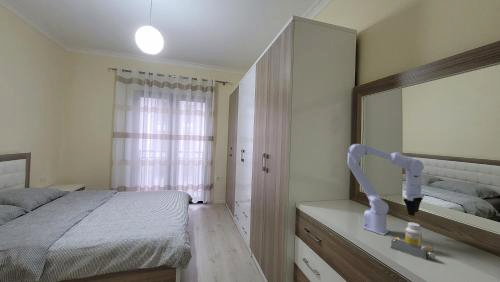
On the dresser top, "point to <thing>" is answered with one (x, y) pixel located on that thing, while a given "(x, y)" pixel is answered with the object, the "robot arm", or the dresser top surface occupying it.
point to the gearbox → (411, 249)
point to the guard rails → (426, 247)
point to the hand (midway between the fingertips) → (413, 213)
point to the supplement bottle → (413, 234)
